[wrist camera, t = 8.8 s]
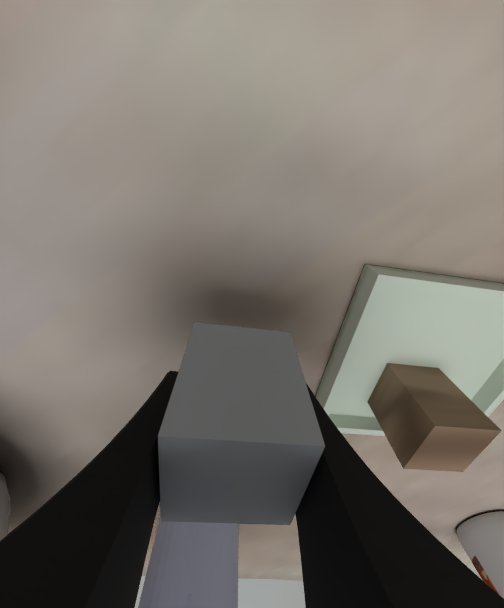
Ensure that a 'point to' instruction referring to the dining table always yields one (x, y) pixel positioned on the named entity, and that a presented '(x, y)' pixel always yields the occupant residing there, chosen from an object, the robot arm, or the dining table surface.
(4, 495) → the chamber pot
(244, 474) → the grey block
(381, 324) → the tray
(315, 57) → the dining table surface
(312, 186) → the dining table surface
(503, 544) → the milk bottle
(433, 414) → the walnut block
